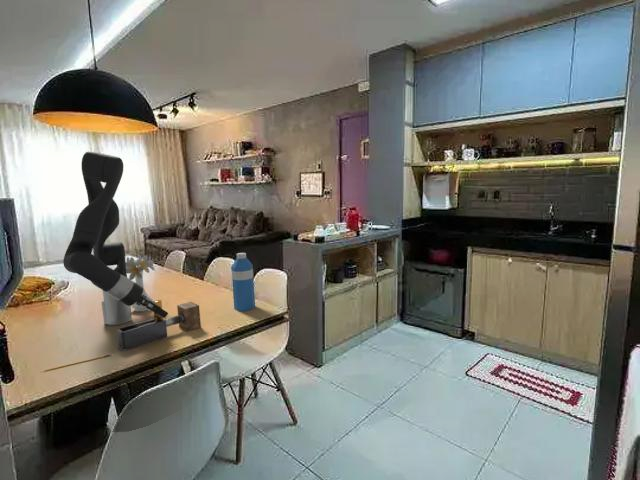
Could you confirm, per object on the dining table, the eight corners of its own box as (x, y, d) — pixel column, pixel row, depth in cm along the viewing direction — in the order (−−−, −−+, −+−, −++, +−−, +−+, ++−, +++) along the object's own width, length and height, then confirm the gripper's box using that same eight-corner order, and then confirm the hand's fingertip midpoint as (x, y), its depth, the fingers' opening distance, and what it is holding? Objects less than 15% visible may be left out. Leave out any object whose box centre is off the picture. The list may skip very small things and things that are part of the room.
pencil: (112, 356, 114) (112, 353, 114) (112, 356, 113) (112, 353, 114) (39, 374, 104) (39, 371, 104) (38, 374, 103) (38, 371, 104)
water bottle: (234, 312, 151) (230, 256, 147) (233, 305, 160) (230, 252, 156) (256, 309, 153) (252, 254, 150) (254, 303, 162) (251, 251, 159)
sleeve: (123, 351, 116) (121, 332, 115) (118, 346, 120) (116, 328, 119) (167, 337, 127) (165, 320, 126) (161, 333, 130) (160, 316, 129)
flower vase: (126, 318, 147) (120, 260, 144) (127, 306, 163) (121, 254, 160) (160, 312, 153) (155, 257, 150) (157, 302, 169) (152, 251, 166)
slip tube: (141, 336, 121) (137, 307, 120) (137, 333, 123) (134, 305, 122) (185, 322, 132) (182, 296, 131) (181, 320, 135) (179, 294, 133)
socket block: (187, 331, 131) (185, 309, 130) (179, 327, 136) (177, 305, 135) (200, 327, 135) (199, 305, 134) (192, 323, 140) (190, 301, 139)
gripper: (139, 284, 114) (178, 309, 125) (125, 277, 124) (163, 301, 134) (123, 303, 111) (165, 328, 122) (110, 295, 121) (150, 318, 131)
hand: (164, 314), depth 128 cm, fingers closed on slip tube, 3 cm apart
